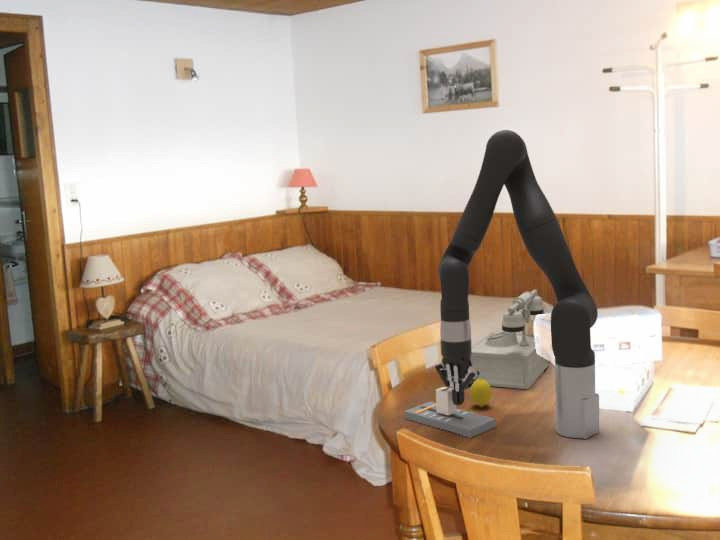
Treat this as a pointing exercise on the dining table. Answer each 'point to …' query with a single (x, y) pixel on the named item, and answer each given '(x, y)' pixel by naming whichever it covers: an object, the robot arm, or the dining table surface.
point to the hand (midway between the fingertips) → (458, 404)
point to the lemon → (480, 392)
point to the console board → (451, 420)
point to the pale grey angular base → (511, 348)
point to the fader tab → (445, 401)
